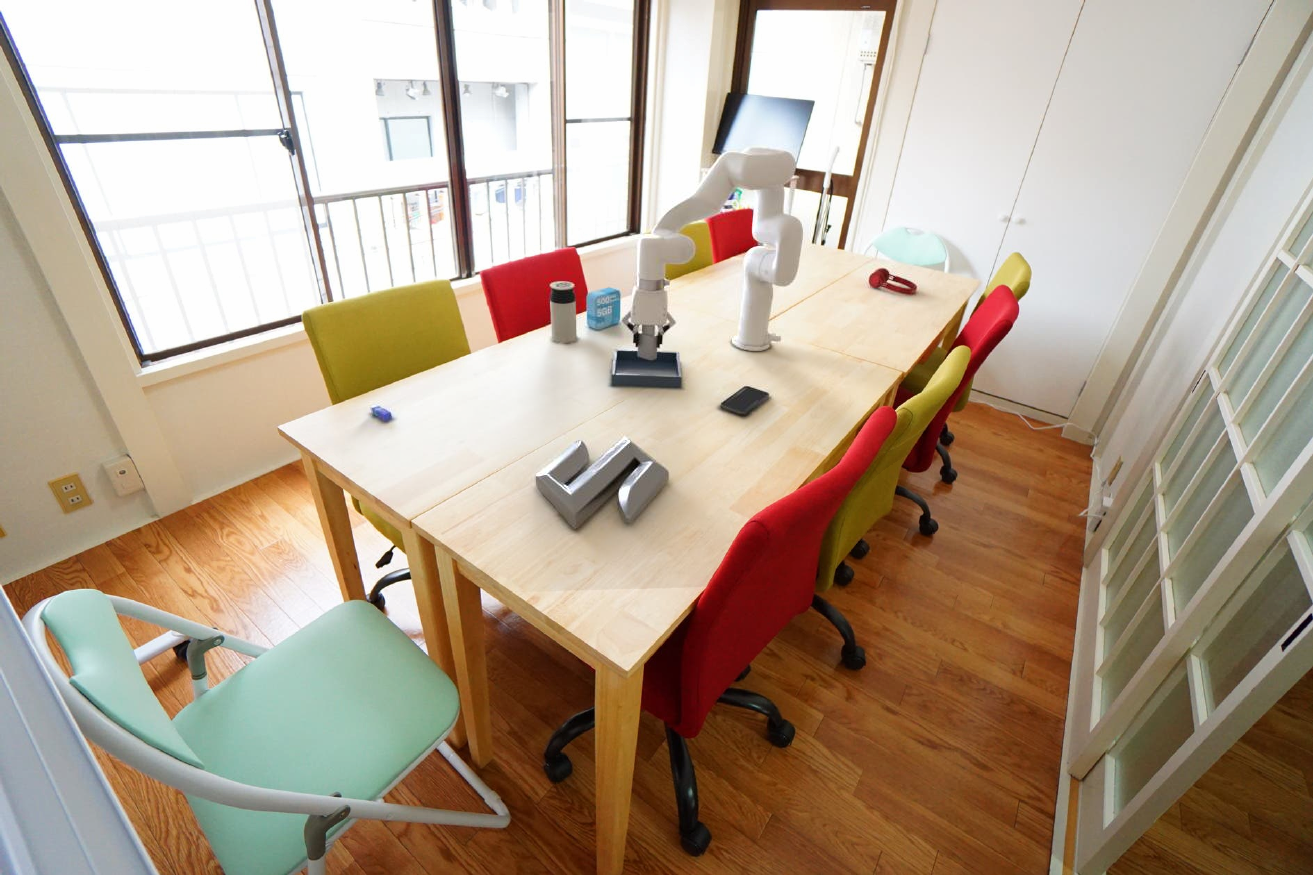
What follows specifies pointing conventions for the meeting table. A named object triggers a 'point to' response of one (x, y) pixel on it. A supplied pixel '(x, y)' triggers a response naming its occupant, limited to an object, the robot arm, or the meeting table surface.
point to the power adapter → (647, 342)
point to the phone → (744, 401)
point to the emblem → (601, 481)
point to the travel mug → (563, 312)
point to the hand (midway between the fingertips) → (647, 345)
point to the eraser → (381, 412)
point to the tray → (646, 370)
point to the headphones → (883, 276)
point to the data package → (603, 308)
